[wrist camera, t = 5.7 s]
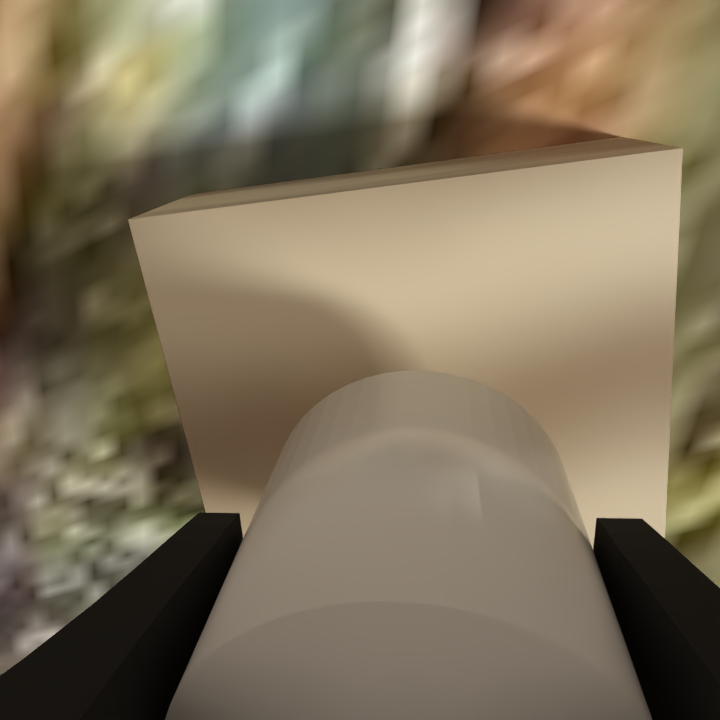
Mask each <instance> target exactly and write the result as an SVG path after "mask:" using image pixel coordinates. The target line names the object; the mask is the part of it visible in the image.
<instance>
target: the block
mask: <svg viewBox="0 0 720 720" xmlns="http://www.w3.org/2000/svg"><path fill="white" fill-rule="evenodd" d="M682 153H683V148H680V147H674V146H669V145H663V144H658V143H652V142H647V141H641V140H636V139H630V138H625V137H617V138H609V139H602V140H594V141H587V142H579V143H572V144H564V145H557V146H549V147H542V148H534V149H527V150H519V151H511V152H504V153H496V154H489V155H481V156H474V157H466V158H459V159H451V160H444V161H436V162H429V163H421V164H414V165H406V166H399V167H391V168H384V169H376V170H369V171H361V172H354V173H346V174H339V175H331V176H324V177H316V178H309V179H301V180H294V181H286V182H278V183H271V184H263V185H256V186H248V187H241V188H233V189H226V190H218V191H211V192H203V193H196V194H191V195H188V196H186V197H183V198H181V199H178V200H176V201H173V202H171V203H168V204H166V205H163V206H161V207H158V208H156V209H153V210H151V211H148V212H146V213H143V214H141V215H138V216H136V217H133V218H130V219H128V222H129V225H130V229H131V233H132V237H133V241H134V244H135V248H136V252H137V256H138V259H139V263H140V267H141V271H142V274H143V278H144V282H145V286H146V289H147V293H148V297H149V301H150V305H151V308H152V312H153V316H154V320H155V323H156V327H157V331H158V335H159V338H160V342H161V346H162V350H163V353H164V357H165V361H166V365H167V369H168V372H169V376H170V380H171V384H172V387H173V391H174V395H175V399H176V402H177V406H178V410H179V414H180V417H181V421H182V425H183V429H184V433H185V436H186V440H187V444H188V448H189V451H190V455H191V459H192V463H193V466H194V470H195V474H196V478H197V481H198V485H199V489H200V493H201V497H202V500H203V504H204V508H205V512H206V513H240V520H241V527H242V534H243V538H244V536H245V533H246V531H247V529H248V526H249V524H250V522H251V520H252V517H253V515H254V513H255V510H256V508H257V506H258V504H259V501H260V499H261V497H262V495H263V492H264V490H265V488H266V485H267V483H268V481H269V479H270V476H271V474H272V472H273V470H274V467H275V465H276V463H277V460H278V458H279V456H280V454H281V451H282V449H283V447H284V445H285V443H286V441H287V439H288V438H289V436H290V434H291V432H292V431H293V429H294V428H295V427H296V425H297V424H298V423H299V421H300V420H301V419H302V418H303V417H304V416H305V415H306V414H307V413H308V412H309V411H310V410H311V409H312V408H313V407H314V406H315V405H316V404H317V403H319V402H320V401H321V400H323V399H324V398H325V397H327V396H328V395H330V394H331V393H333V392H335V391H337V390H339V389H340V388H342V387H344V386H346V385H348V384H351V383H353V382H356V381H358V380H361V379H363V378H367V377H371V376H375V375H379V374H382V373H389V372H397V371H412V370H426V371H435V372H444V373H449V374H453V375H458V376H462V377H466V378H469V379H472V380H474V381H477V382H480V383H482V384H485V385H487V386H489V387H491V388H493V389H495V390H497V391H499V392H501V393H503V394H505V395H506V396H507V397H509V398H510V399H512V400H513V401H515V402H516V403H517V404H519V405H520V406H522V407H523V408H524V409H525V410H526V411H527V412H528V413H529V414H530V415H531V416H532V417H534V418H535V419H536V421H537V422H538V423H539V424H540V425H541V427H542V428H543V429H544V430H545V431H546V433H547V434H548V436H549V437H550V439H551V441H552V442H553V444H554V446H555V447H556V449H557V451H558V453H559V456H560V458H561V461H562V463H563V465H564V468H565V471H566V474H567V477H568V480H569V483H570V485H571V488H572V491H573V494H574V497H575V500H576V503H577V505H578V508H579V511H580V514H581V517H582V520H583V523H584V525H585V528H586V531H587V534H588V537H589V540H590V543H591V545H592V548H593V546H594V536H595V527H596V518H638V519H643V520H644V521H645V522H647V523H648V524H649V525H650V526H651V527H652V528H653V529H655V530H656V531H657V532H658V533H659V534H660V535H661V536H662V537H664V538H665V523H666V501H667V480H668V458H669V436H670V414H671V393H672V371H673V349H674V327H675V306H676V284H677V262H678V240H679V219H680V197H681V175H682Z"/></svg>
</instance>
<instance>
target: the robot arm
mask: <svg viewBox="0 0 720 720" xmlns="http://www.w3.org/2000/svg"><path fill="white" fill-rule="evenodd" d="M242 540H243V534H242V527H241V520H240V513H199V514H197V515H196V516H195V517H194V518H193V519H191V520H190V521H189V522H188V523H186V524H185V525H184V526H183V527H182V528H181V529H180V530H178V531H177V532H176V533H175V534H174V535H173V536H171V537H170V538H169V539H168V540H167V541H166V542H165V543H164V544H162V545H161V546H160V547H159V548H158V549H157V550H156V551H154V552H153V553H152V554H151V555H150V556H149V557H148V558H146V559H145V560H144V561H143V562H142V563H141V564H140V565H138V566H137V567H136V568H135V569H134V570H133V571H131V572H130V573H129V574H128V575H127V576H126V577H124V578H123V579H122V580H121V581H120V582H119V583H117V584H116V585H115V586H114V587H113V588H112V589H110V590H109V591H108V592H107V593H106V594H104V595H103V596H102V597H101V598H100V599H99V600H97V601H96V602H95V603H94V604H93V605H91V606H90V607H89V608H88V609H86V610H85V611H84V612H83V613H81V614H80V615H79V616H77V617H76V618H75V619H74V620H72V621H71V622H70V623H69V624H67V625H66V626H65V627H63V628H62V629H61V630H60V631H58V632H57V633H56V634H55V635H53V636H52V637H51V638H49V639H48V640H47V641H46V642H44V643H43V644H42V645H41V646H39V647H38V648H37V649H35V650H34V651H33V652H32V653H30V654H29V655H28V656H27V657H25V658H24V659H23V660H21V661H20V662H19V663H17V664H16V665H14V666H13V667H12V668H10V669H9V670H8V671H6V672H5V673H3V674H2V675H1V676H0V720H165V718H166V715H167V712H168V709H169V706H170V704H171V702H172V699H173V697H174V695H175V692H176V690H177V688H178V686H179V683H180V681H181V679H182V677H183V674H184V672H185V670H186V667H187V665H188V663H189V661H190V658H191V656H192V654H193V652H194V649H195V647H196V645H197V642H198V640H199V638H200V636H201V633H202V631H203V629H204V626H205V624H206V622H207V620H208V617H209V615H210V613H211V611H212V608H213V606H214V604H215V601H216V599H217V597H218V595H219V592H220V590H221V588H222V586H223V583H224V581H225V579H226V576H227V574H228V572H229V570H230V567H231V565H232V563H233V561H234V558H235V556H236V554H237V551H238V549H239V547H240V545H241V542H242ZM593 551H594V554H595V557H596V560H597V563H598V565H599V568H600V571H601V574H602V577H603V580H604V583H605V585H606V588H607V591H608V594H609V597H610V600H611V603H612V605H613V608H614V611H615V614H616V617H617V620H618V623H619V625H620V628H621V631H622V634H623V637H624V640H625V643H626V645H627V648H628V651H629V654H630V657H631V660H632V663H633V665H634V668H635V671H636V674H637V677H638V680H639V683H640V685H641V688H642V691H643V694H644V697H645V700H646V703H647V705H648V708H649V711H650V714H651V717H652V720H720V588H719V587H718V586H717V585H715V584H714V583H713V582H712V581H711V580H710V579H709V578H708V577H707V576H705V575H704V574H703V573H702V572H701V571H700V570H699V569H698V568H697V567H695V566H694V565H693V564H692V563H691V562H690V561H689V560H688V559H687V558H685V557H684V556H683V555H682V554H681V553H680V552H679V551H678V550H677V549H676V548H675V547H673V546H672V545H671V544H670V543H669V542H668V541H667V540H666V539H665V538H664V537H662V536H661V535H660V534H659V533H658V532H657V531H656V530H655V529H653V528H652V527H651V526H650V525H649V524H648V523H647V522H645V521H644V520H643V519H638V518H596V527H595V536H594V546H593Z"/></svg>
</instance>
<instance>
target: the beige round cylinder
mask: <svg viewBox="0 0 720 720" xmlns="http://www.w3.org/2000/svg"><path fill="white" fill-rule="evenodd" d="M165 720H652V717H651V714H650V711H649V708H648V705H647V703H646V700H645V697H644V694H643V691H642V688H641V685H640V683H639V680H638V677H637V674H636V671H635V668H634V665H633V663H632V660H631V657H630V654H629V651H628V648H627V645H626V643H625V640H624V637H623V634H622V631H621V628H620V625H619V623H618V620H617V617H616V614H615V611H614V608H613V605H612V603H611V600H610V597H609V594H608V591H607V588H606V585H605V583H604V580H603V577H602V574H601V571H600V568H599V565H598V563H597V560H596V557H595V554H594V551H593V548H592V545H591V543H590V540H589V537H588V534H587V531H586V528H585V525H584V523H583V520H582V517H581V514H580V511H579V508H578V505H577V503H576V500H575V497H574V494H573V491H572V488H571V485H570V483H569V480H568V477H567V474H566V471H565V468H564V465H563V463H562V461H561V458H560V456H559V453H558V451H557V449H556V447H555V446H554V444H553V442H552V441H551V439H550V437H549V436H548V434H547V433H546V431H545V430H544V429H543V428H542V427H541V425H540V424H539V423H538V422H537V421H536V419H535V418H534V417H532V416H531V415H530V414H529V413H528V412H527V411H526V410H525V409H524V408H523V407H522V406H520V405H519V404H517V403H516V402H515V401H513V400H512V399H510V398H509V397H507V396H506V395H505V394H503V393H501V392H499V391H497V390H495V389H493V388H491V387H489V386H487V385H485V384H482V383H480V382H477V381H474V380H472V379H469V378H466V377H462V376H458V375H453V374H449V373H444V372H435V371H426V370H412V371H397V372H389V373H382V374H379V375H375V376H371V377H367V378H363V379H361V380H358V381H356V382H353V383H351V384H348V385H346V386H344V387H342V388H340V389H339V390H337V391H335V392H333V393H331V394H330V395H328V396H327V397H325V398H324V399H323V400H321V401H320V402H319V403H317V404H316V405H315V406H314V407H313V408H312V409H311V410H310V411H309V412H308V413H307V414H306V415H305V416H304V417H303V418H302V419H301V420H300V421H299V423H298V424H297V425H296V427H295V428H294V429H293V431H292V432H291V434H290V436H289V438H288V439H287V441H286V443H285V445H284V447H283V449H282V451H281V454H280V456H279V458H278V460H277V463H276V465H275V467H274V470H273V472H272V474H271V476H270V479H269V481H268V483H267V485H266V488H265V490H264V492H263V495H262V497H261V499H260V501H259V504H258V506H257V508H256V510H255V513H254V515H253V517H252V520H251V522H250V524H249V526H248V529H247V531H246V533H245V536H244V538H243V540H242V542H241V545H240V547H239V549H238V551H237V554H236V556H235V558H234V561H233V563H232V565H231V567H230V570H229V572H228V574H227V576H226V579H225V581H224V583H223V586H222V588H221V590H220V592H219V595H218V597H217V599H216V601H215V604H214V606H213V608H212V611H211V613H210V615H209V617H208V620H207V622H206V624H205V626H204V629H203V631H202V633H201V636H200V638H199V640H198V642H197V645H196V647H195V649H194V652H193V654H192V656H191V658H190V661H189V663H188V665H187V667H186V670H185V672H184V674H183V677H182V679H181V681H180V683H179V686H178V688H177V690H176V692H175V695H174V697H173V699H172V702H171V704H170V706H169V709H168V712H167V715H166V718H165Z"/></svg>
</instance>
